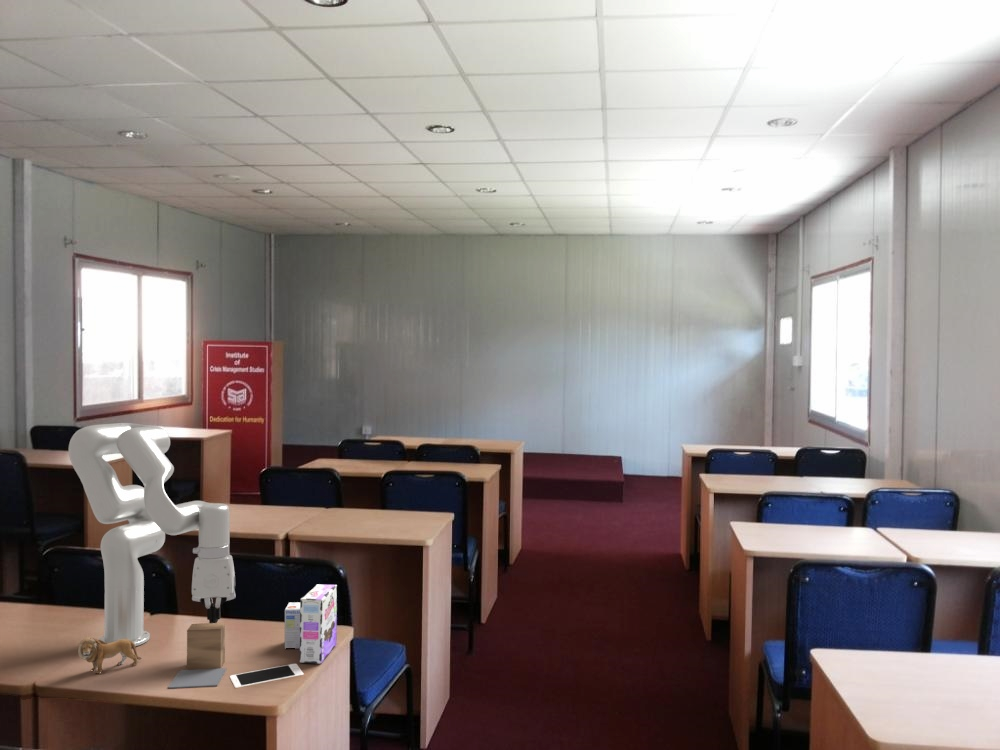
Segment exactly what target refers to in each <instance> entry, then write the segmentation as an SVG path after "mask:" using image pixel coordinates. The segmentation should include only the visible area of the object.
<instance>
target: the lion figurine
mask: <svg viewBox="0 0 1000 750" xmlns="http://www.w3.org/2000/svg"><path fill="white" fill-rule="evenodd" d="M131 646H132V647H131ZM136 647H137V646H135V645H134V643H133V642H132V641H131V640H128V639H121V640H118V641H115V642H112V643H105V642H103V641H102V640H99V639H96V638H94V637H87V638H83V639H82V640H81V641H80V642H79V643H78V646H77V649H78V651H77V652H78V653H77V654H78V657H79V658H80V659H83V660H85V661H86V662H87V663H92V666H93V667H92V668H91V669H90V671H91V670H96V671H95V673H100V672H101V673H102V671H103V662H104V660H105V659H112V658H114V657H116V656H117V655H118V654H119V653H120V655H121V660H120V661H118V662H117V666H118V665H119V666H121V665H123V664H124V663H125V661H126V660H127V659H128V658H129V659H131V660H132V661H133V662H131V664H130V665H131V666H132V667H135V666H137V665H138V660H139V661H140V660H142V659H143V658H142V657H140V656H139V655H138V651H137V648H136ZM120 664H121V665H120ZM101 673H100V674H101Z"/></svg>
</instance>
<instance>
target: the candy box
mask: <svg viewBox="0 0 1000 750" xmlns="http://www.w3.org/2000/svg"><path fill="white" fill-rule="evenodd" d="M337 587H338V585H337V584H320V583H319V584H315V586H314V587H313V588H312V589H311V590H309V591H308V592H307V593H306V594H305V595H303V596H302V597H301V598H300V648H299V663H303V664H318V665H319V664H322V663H323V662H324V661H325V659H326V658H327V657H328V655H330V653H331V652H332V651H333V649H334V648H335V647H336V645H338V643H337V635H338V634H337V633H338V631H337V629H338V628H337V627H338V626H337V625H338V621H337V620H338V617H337V616H338V615H337V612H338V603H337V601H338V599H337V597H338V596H337V593H338V591H337Z"/></svg>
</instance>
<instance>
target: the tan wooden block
mask: <svg viewBox="0 0 1000 750" xmlns="http://www.w3.org/2000/svg"><path fill="white" fill-rule="evenodd" d="M225 645H226V622H217V623H209V622H208V623H207V622H205V623H191V625H190V626H189V627H188V629H186V670H195V669H216V668H223V666H224V664H225V662H226V659H225V658H226V646H225Z"/></svg>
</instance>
